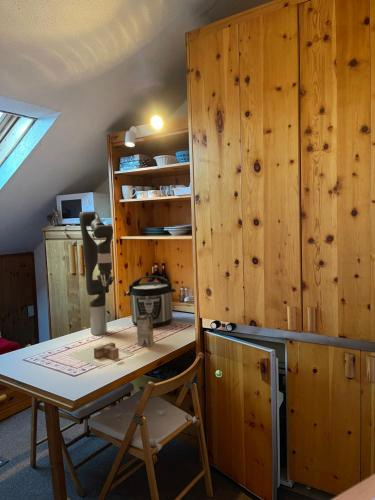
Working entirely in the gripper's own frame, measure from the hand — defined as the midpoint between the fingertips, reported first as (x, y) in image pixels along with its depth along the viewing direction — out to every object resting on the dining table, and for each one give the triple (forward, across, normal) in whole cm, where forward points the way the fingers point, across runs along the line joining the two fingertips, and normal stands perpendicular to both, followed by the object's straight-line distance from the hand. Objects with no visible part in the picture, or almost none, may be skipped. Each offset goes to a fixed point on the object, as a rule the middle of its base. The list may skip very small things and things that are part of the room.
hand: (106, 292), depth 211 cm
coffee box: (+29, +19, +10) cm, 36 cm away
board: (+29, +12, -15) cm, 35 cm away
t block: (+28, +20, -15) cm, 37 cm away
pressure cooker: (+29, -10, +44) cm, 54 cm away
